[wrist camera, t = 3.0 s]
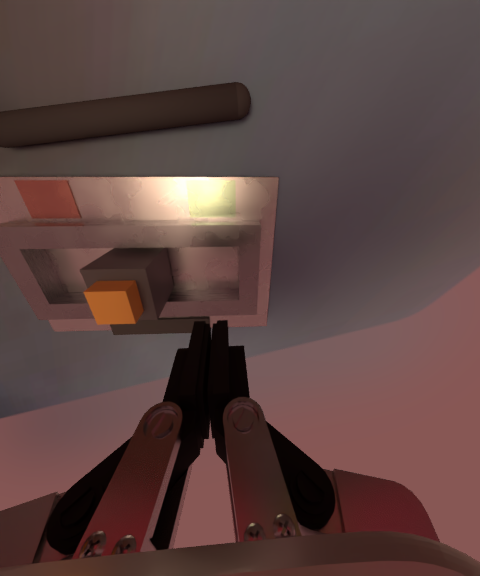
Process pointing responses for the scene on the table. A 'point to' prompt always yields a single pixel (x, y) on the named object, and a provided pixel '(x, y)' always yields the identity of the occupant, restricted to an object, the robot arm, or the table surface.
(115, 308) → the lever
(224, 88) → the brown rounded rod
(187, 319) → the dark brown bar
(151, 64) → the table surface
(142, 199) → the breaker board
